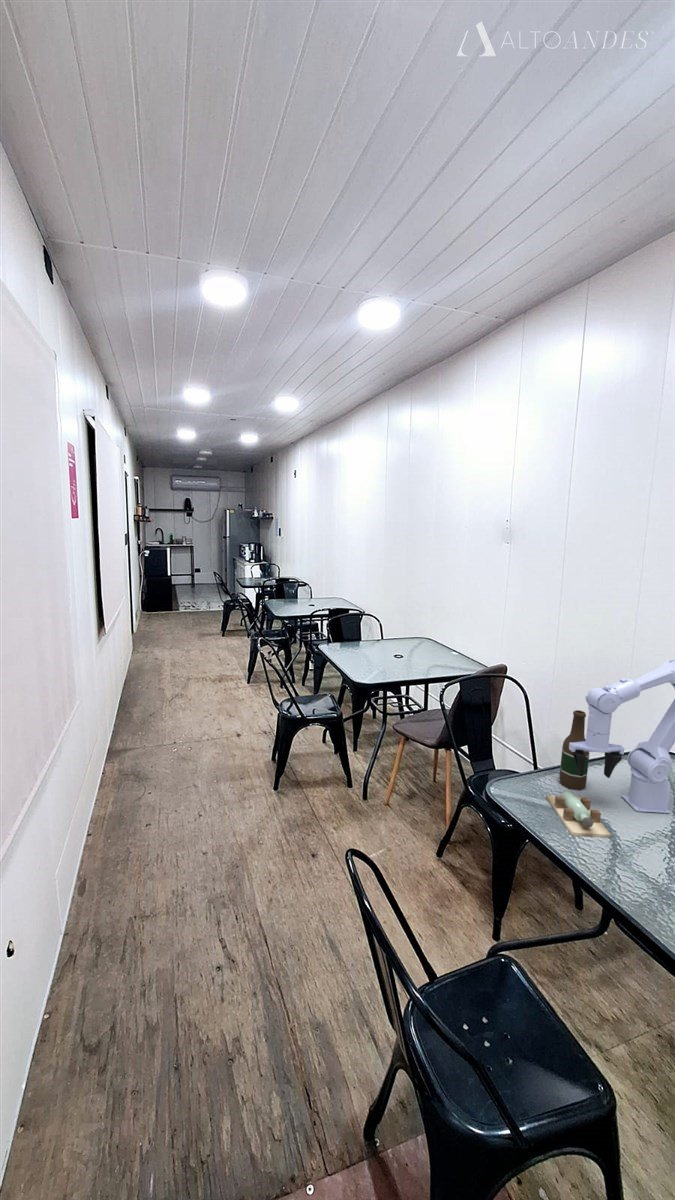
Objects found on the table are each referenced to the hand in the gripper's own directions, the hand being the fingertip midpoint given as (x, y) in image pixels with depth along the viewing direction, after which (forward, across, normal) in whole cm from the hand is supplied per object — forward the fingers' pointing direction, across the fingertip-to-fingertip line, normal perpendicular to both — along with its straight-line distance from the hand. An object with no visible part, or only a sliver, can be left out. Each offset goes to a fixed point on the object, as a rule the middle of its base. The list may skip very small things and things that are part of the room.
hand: (593, 775), depth 138 cm
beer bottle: (+10, 0, -12) cm, 15 cm away
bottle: (+9, +7, +7) cm, 13 cm away
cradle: (+9, +6, +6) cm, 13 cm away
